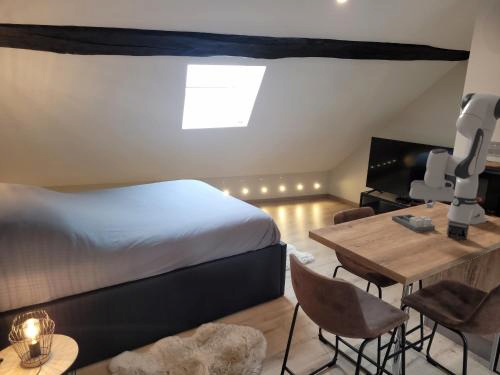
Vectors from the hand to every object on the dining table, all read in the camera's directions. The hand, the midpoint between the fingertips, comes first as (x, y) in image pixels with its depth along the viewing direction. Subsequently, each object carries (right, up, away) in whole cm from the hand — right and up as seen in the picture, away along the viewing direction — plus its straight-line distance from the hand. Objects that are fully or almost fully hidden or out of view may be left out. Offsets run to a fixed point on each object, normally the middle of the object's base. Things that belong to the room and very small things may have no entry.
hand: (429, 207), depth 184 cm
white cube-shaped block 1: (+3, -10, +12) cm, 16 cm away
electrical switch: (+14, -16, -1) cm, 21 cm away
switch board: (-1, -10, +17) cm, 20 cm away
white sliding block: (-2, -11, +10) cm, 15 cm away
